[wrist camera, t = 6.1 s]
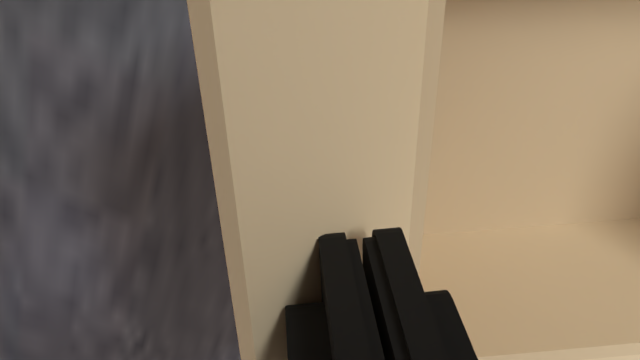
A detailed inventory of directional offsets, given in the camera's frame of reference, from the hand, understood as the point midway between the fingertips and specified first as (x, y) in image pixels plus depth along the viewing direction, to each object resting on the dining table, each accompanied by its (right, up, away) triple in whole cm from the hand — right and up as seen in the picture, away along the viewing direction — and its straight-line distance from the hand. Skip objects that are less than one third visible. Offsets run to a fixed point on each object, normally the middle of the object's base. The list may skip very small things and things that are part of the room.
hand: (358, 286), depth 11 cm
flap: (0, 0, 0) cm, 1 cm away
